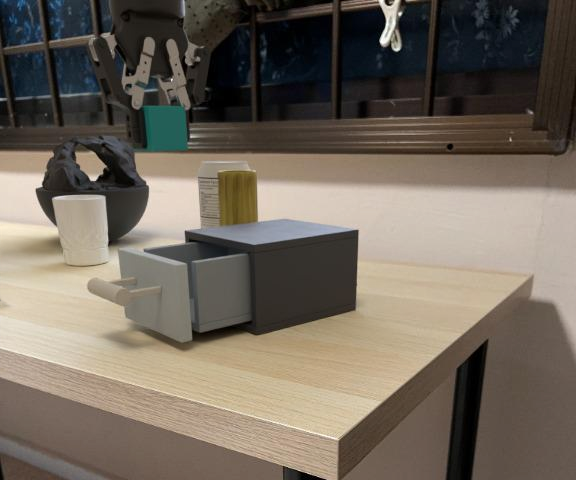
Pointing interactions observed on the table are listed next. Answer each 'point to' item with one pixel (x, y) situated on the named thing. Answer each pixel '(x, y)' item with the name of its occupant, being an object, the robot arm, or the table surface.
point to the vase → (237, 197)
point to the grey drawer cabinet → (292, 269)
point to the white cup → (82, 228)
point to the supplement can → (213, 189)
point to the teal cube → (165, 128)
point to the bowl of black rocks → (98, 181)
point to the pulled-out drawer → (181, 287)
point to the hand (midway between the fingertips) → (160, 147)
